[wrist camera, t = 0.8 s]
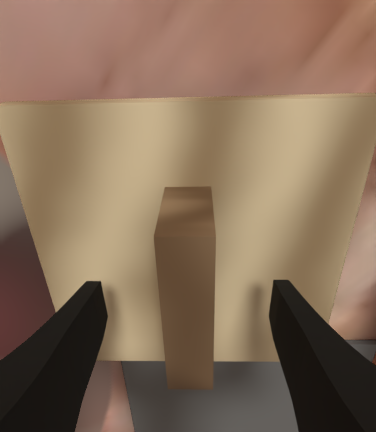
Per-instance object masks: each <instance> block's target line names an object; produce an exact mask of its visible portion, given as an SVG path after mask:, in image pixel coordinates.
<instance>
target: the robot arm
mask: <svg viewBox="0 0 376 432" xmlns="http://www.w3.org/2000/svg"><path fill="white" fill-rule="evenodd" d="M107 319H108V314H107V309H106V304H105V299H104V294H103V289H102V284H101V281H86V282H85V283H84V284H83V285H82V286H81V287H80V288H79V289H78V290H77V291H76V292H75V293H74V295H73V296H72V297H71V298H70V299H69V300H68V301H67V302H66V303H65V304H64V305H63V306H62V307H61V308H60V309H59V310H58V311H57V312H56V313H55V314H54V315H53V316H52V317H51V318H50V319H49V320H48V321H47V322H46V323H45V324H44V325H43V326H42V327H41V328H40V329H39V330H37V331H36V332H35V333H34V334H33V335H32V336H31V337H30V338H28V339H27V340H26V341H25V342H24V343H22V344H21V345H20V346H19V347H18V348H16V349H15V350H14V351H13V352H11V353H10V354H9V355H7V356H6V357H5V358H3V359H2V360H0V432H75V428H76V424H77V420H78V416H79V412H80V408H81V403H82V400H83V397H84V394H85V390H86V388H87V385H88V382H89V379H90V376H91V373H92V370H93V368H94V365H95V362H96V359H97V356H98V353H99V350H100V347H101V344H102V341H103V338H104V334H105V329H106V324H107ZM269 321H270V326H271V332H272V337H273V341H274V344H275V348H276V351H277V354H278V357H279V360H280V364H281V367H282V370H283V373H284V376H285V380H286V383H287V386H288V389H289V392H290V396H291V400H292V403H293V408H294V412H295V417H296V422H297V426H298V431H299V432H376V365H374V364H373V363H372V362H370V361H369V360H368V359H367V358H365V357H364V356H363V355H362V354H360V353H359V352H358V351H357V350H356V349H354V348H353V347H352V346H351V345H350V344H349V343H347V342H346V341H345V340H344V339H343V338H342V337H341V336H340V335H339V334H338V333H337V332H336V331H335V330H334V329H333V328H332V327H331V326H330V325H329V324H328V323H327V322H326V321H325V320H324V319H323V318H322V317H321V316H320V315H319V314H318V313H317V312H316V311H315V310H314V309H313V307H312V306H311V305H310V304H309V303H308V302H307V301H306V299H305V298H304V297H303V296H302V295H301V294H300V292H299V291H298V290H297V289H296V288H295V287H294V285H293V284H292V283H291V282H290V281H289V280H273V287H272V294H271V302H270V309H269Z"/></svg>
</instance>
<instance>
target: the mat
mask: <svg viewBox="0 0 376 432" xmlns="http://www.w3.org/2000/svg"><path fill="white" fill-rule="evenodd" d="M345 341H346V342H347V343H349V344H350V345H351V346H352V347H353V348H354V349H356V350H357V351H358V352H359V353H360V354H362V355H363V356H364V357H365V358H367V359H368V360H369V361H370V362H372V361H373V358H374V356H375V353H376V340H345ZM121 363H122V368H123V373H124V379H125V384H126V389H127V394H128V399H129V404H130V409H131V414H132V419H133V424H134V429H135V432H299V431H298V426H297V422H296V417H295V412H294V408H293V403H292V400H291V396H290V392H289V389H288V386H287V383H286V380H285V376H284V373H283V370H282V367H281V364H280V362H250V361H214V365H213V390H192V389H168V386H167V375H166V364H165V361H121Z"/></svg>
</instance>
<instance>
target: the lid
mask: <svg viewBox="0 0 376 432" xmlns="http://www.w3.org/2000/svg"><path fill="white" fill-rule="evenodd" d="M0 135H1V138H2V141H3V144H4V147H5V151H6V154H7V157H8V160H9V163H10V167H11V170H12V173H13V176H14V179H15V183H16V186H17V189H18V192H19V195H20V198H21V202H22V205H23V208H24V211H25V214H26V218H27V221H28V224H29V227H30V230H31V234H32V237H33V240H34V243H35V247H36V250H37V253H38V256H39V259H40V262H41V266H42V269H43V272H44V275H45V278H46V282H47V285H48V288H49V291H50V294H51V298H52V301H53V304H54V307H55V311H56V312H57V311H58V310H59V309H60V308H61V307H62V306H63V305H64V304H65V303H66V302H67V301H68V300H69V299H70V298H71V297H72V296H73V295H74V293H75V292H76V291H77V290H78V289H79V288H80V287H81V286H82V285H83V284H84V283H85V282H86V281H101V284H102V289H103V294H104V299H105V304H106V309H107V314H108V319H107V324H106V329H105V334H104V338H103V341H102V344H101V347H100V350H99V353H98V356H97V359H96V361H165V364H166V375H167V386H168V389H192V390H213V365H214V361H250V362H280V360H279V357H278V354H277V351H276V348H275V344H274V341H273V337H272V332H271V326H270V321H269V309H270V302H271V294H272V287H273V280H289V281H290V282H291V283H292V284H293V285H294V287H295V288H296V289H297V290H298V291H299V292H300V294H301V295H302V296H303V297H304V298H305V299H306V301H307V302H308V303H309V304H310V305H311V306H312V307H313V309H314V310H315V311H316V312H317V313H318V314H319V315H320V316H321V317H322V318H323V319H324V320H325V321H326V322H327V323H329V319H330V315H331V311H332V308H333V304H334V300H335V296H336V292H337V289H338V285H339V281H340V277H341V273H342V270H343V266H344V262H345V258H346V255H347V251H348V247H349V243H350V239H351V236H352V232H353V228H354V224H355V220H356V217H357V213H358V209H359V205H360V201H361V198H362V194H363V190H364V186H365V183H366V179H367V175H368V171H369V167H370V164H371V160H372V156H373V152H374V148H375V145H376V93H349V94H307V95H265V96H224V97H182V98H140V99H99V100H57V101H16V102H3V103H0Z"/></svg>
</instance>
